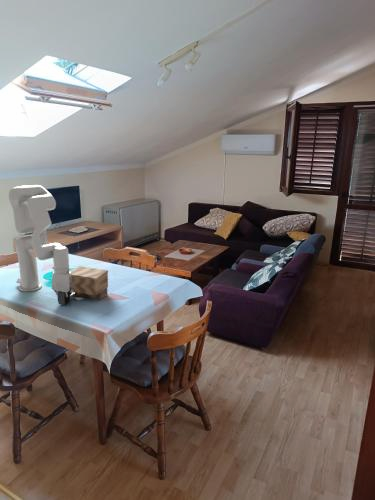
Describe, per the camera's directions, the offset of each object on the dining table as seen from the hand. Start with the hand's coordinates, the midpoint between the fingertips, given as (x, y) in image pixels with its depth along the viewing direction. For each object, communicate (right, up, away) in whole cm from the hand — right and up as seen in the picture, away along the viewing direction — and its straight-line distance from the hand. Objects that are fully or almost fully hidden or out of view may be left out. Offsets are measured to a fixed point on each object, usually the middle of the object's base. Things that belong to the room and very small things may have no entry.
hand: (64, 301), depth 193 cm
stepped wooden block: (+10, +1, +11) cm, 15 cm away
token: (+6, 0, +8) cm, 10 cm away
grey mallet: (+1, 0, +4) cm, 5 cm away
